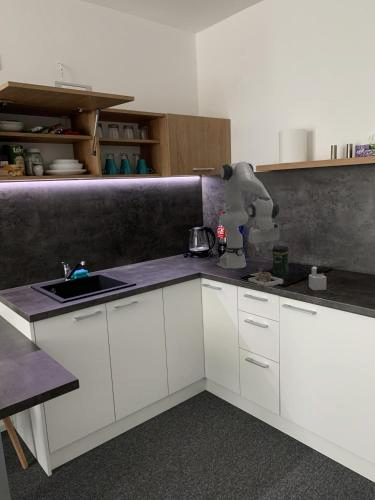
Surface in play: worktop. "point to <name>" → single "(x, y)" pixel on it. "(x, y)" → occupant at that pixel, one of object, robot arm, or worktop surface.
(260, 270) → the stake
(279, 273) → the coffee jar
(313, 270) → the medicine bottle
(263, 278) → the collar
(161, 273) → the worktop surface
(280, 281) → the tray
